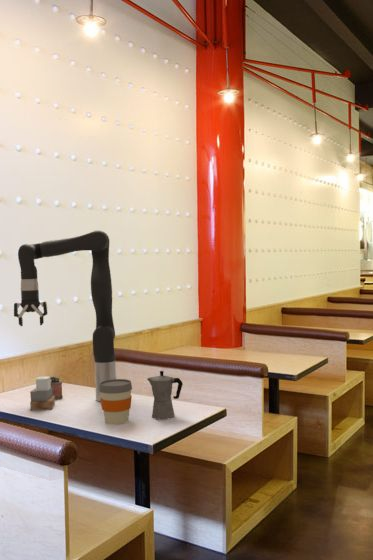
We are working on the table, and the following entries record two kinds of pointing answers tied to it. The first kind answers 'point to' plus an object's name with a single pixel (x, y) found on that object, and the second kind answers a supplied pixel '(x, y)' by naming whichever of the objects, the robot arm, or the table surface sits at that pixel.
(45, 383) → the top block
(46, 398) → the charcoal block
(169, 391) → the coffeepot
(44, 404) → the walnut block
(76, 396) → the table surface
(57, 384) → the lighter
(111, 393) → the reusable coffee cup
